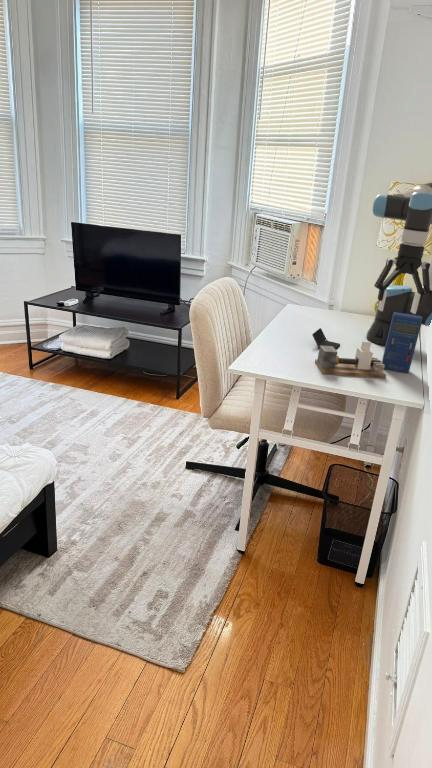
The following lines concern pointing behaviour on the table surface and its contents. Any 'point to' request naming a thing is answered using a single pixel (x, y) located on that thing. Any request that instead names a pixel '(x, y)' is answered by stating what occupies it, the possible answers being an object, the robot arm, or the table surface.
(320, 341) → the handheld gaming console
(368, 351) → the flanged slider block
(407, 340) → the electronic device
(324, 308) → the table surface
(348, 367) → the comb board
